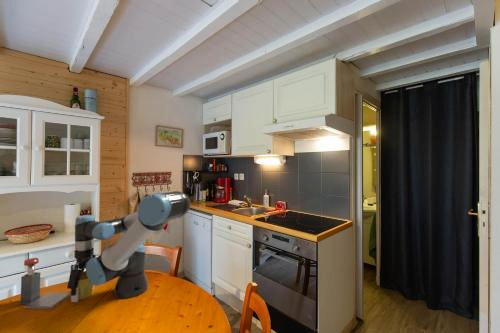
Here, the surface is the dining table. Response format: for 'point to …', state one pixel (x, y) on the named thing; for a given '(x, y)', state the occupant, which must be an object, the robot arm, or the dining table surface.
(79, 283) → the plant pot
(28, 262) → the ram
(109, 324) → the dining table surface
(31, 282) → the press base
